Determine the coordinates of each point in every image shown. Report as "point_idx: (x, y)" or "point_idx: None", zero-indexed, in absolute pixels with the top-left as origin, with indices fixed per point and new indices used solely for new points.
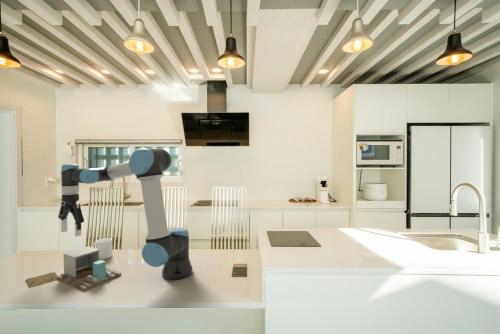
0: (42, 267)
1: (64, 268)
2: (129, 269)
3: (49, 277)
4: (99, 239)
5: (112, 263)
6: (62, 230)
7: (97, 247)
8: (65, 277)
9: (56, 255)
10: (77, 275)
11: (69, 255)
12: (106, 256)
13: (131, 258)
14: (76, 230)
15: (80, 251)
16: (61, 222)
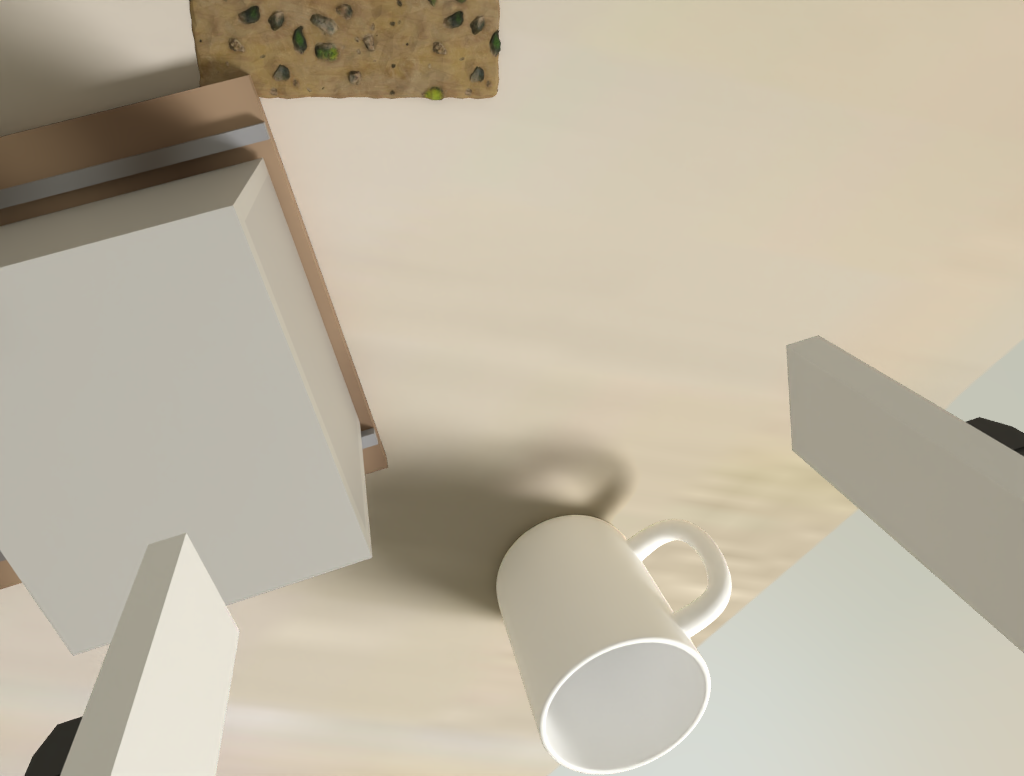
0: (762, 20)
1: (242, 171)
2: (20, 690)
3: (342, 7)
4: (702, 670)
5: (315, 597)
6: (814, 377)
7: (593, 594)
8: (133, 147)
9: (997, 219)
10: None
11: (17, 263)
12: (498, 591)
13: (326, 738)
14: (113, 676)
15: (157, 437)
16: (991, 470)
